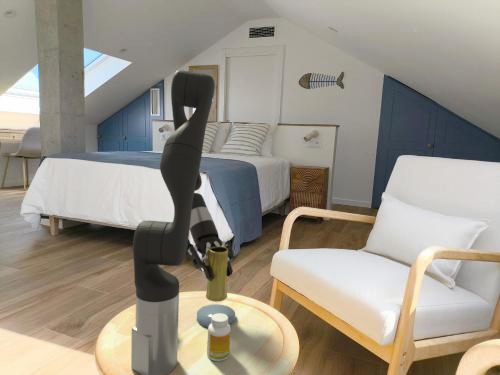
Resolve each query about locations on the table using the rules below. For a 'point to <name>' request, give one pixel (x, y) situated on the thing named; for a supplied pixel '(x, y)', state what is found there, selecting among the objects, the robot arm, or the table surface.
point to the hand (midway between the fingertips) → (221, 277)
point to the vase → (218, 274)
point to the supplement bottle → (218, 338)
